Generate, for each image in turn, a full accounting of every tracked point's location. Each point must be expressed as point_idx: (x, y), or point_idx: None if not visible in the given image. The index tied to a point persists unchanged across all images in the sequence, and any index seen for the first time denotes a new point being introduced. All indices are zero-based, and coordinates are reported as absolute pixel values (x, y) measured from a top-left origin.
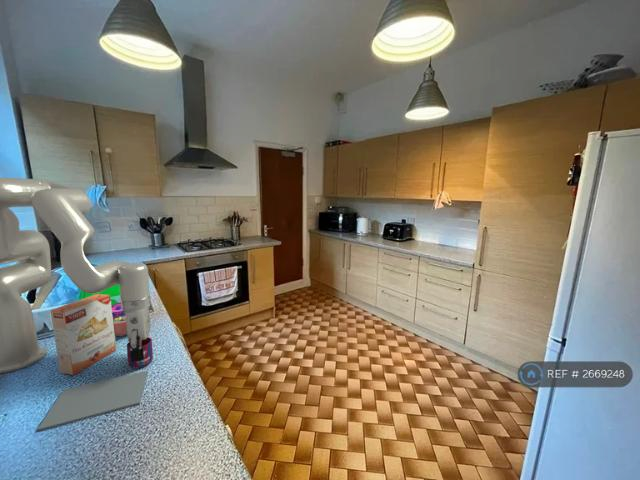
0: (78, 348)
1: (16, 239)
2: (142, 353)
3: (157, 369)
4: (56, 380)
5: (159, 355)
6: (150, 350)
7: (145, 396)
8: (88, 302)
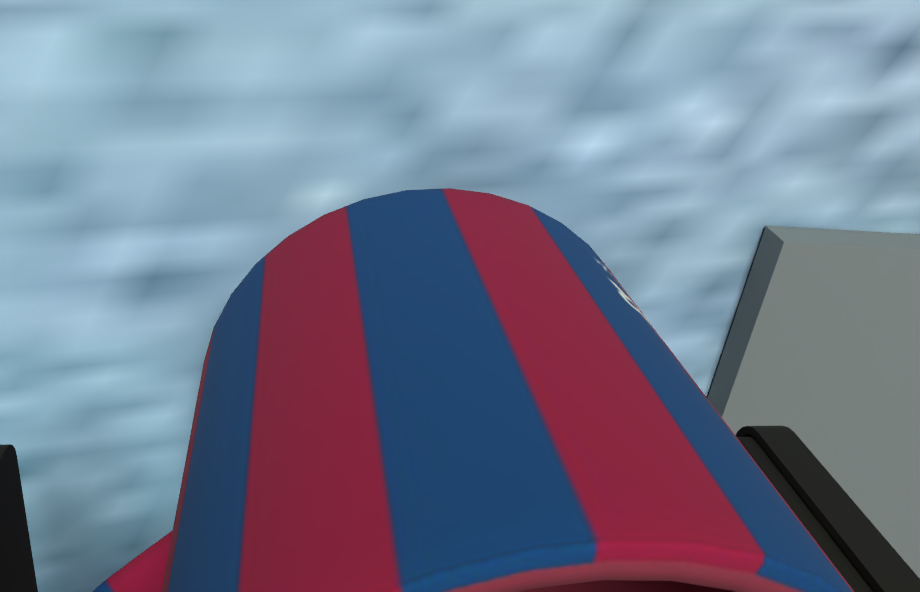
0: None
1: None
2: (882, 552)
3: (794, 71)
4: None
5: (229, 38)
6: (649, 362)
7: None
8: None
